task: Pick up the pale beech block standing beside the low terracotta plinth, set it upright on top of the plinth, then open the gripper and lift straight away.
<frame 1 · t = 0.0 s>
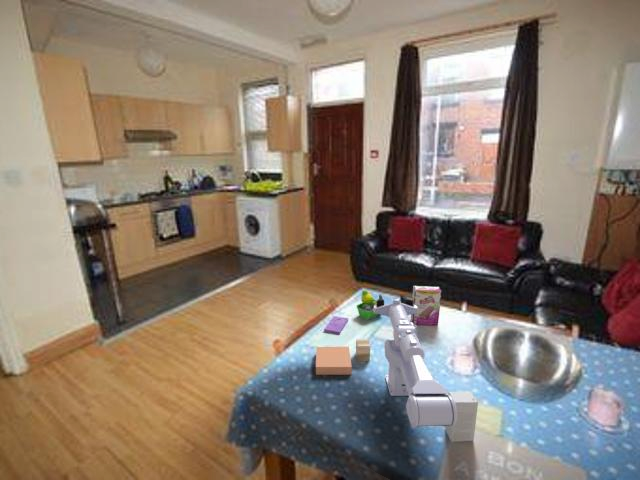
hand: (390, 297, 120), 22 cm above the table, tool horizontal, fingers open, 7 cm apart
candy bar box: (424, 323, 146), on the table
sponges: (336, 327, 144), on the table
terracotta plinth: (333, 363, 118), on the table
fruit basket: (369, 315, 154), on the table
skincare box: (458, 435, 88), on the table
beech block: (362, 357, 122), on the table
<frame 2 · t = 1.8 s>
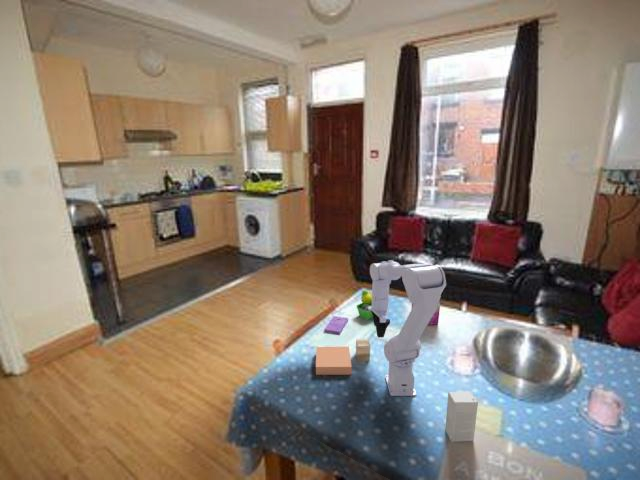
hand: (378, 331, 119), 10 cm above the table, tool pointing down, fingers open, 7 cm apart
nothing on the table moved.
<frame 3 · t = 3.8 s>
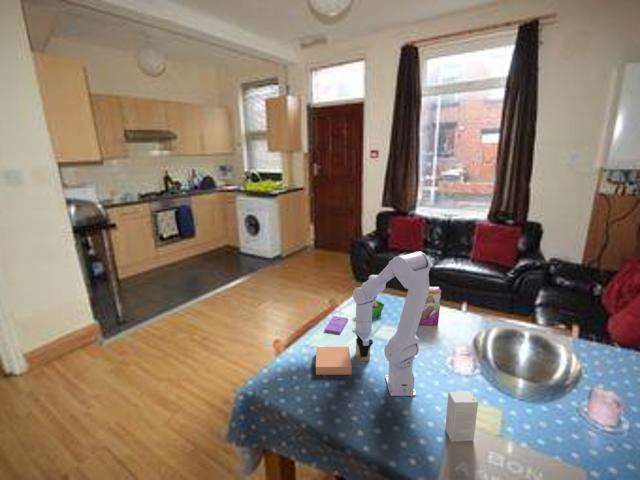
hand: (362, 352, 121), 2 cm above the table, tool pointing down, fingers closed on beech block, 4 cm apart
beech block: (362, 356, 122), on the table, touching gripper
everything else where it was.
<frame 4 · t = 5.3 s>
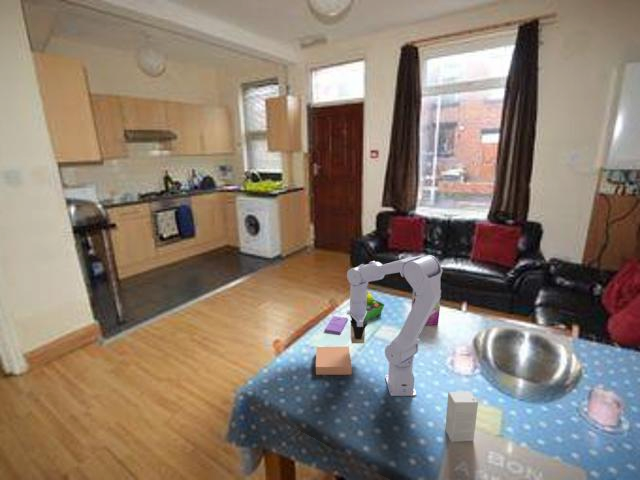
hand: (357, 334, 118), 9 cm above the table, tool pointing down, fingers closed on beech block, 4 cm apart
beech block: (357, 339, 119), point 7 cm above the table, touching gripper
everything else where it was.
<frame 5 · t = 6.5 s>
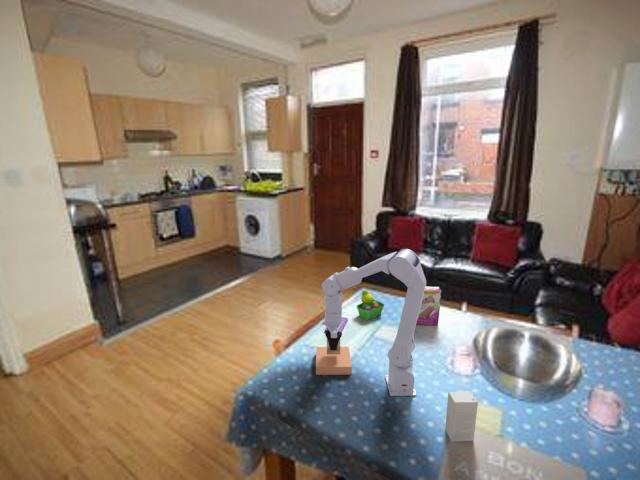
hand: (333, 345, 116), 7 cm above the table, tool pointing down, fingers closed on beech block, 4 cm apart
beech block: (333, 350, 116), point 5 cm above the table, touching gripper
everything else where it was.
when the fingers open (6 cm above the table, at t = 7.2 s): beech block stays where it is, resting on terracotta plinth.
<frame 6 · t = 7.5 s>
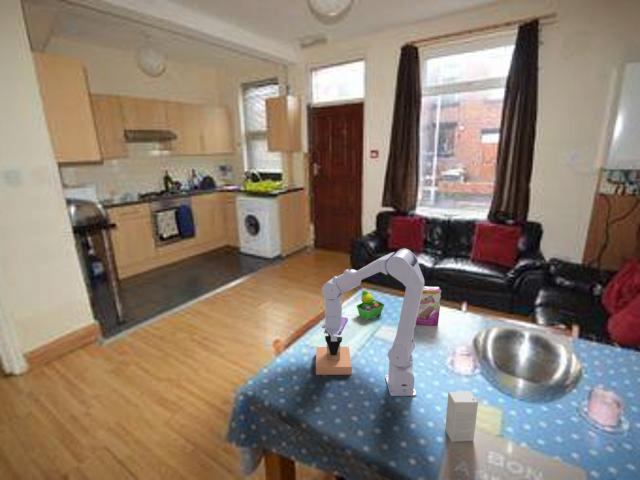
hand: (333, 348, 116), 6 cm above the table, tool pointing down, fingers open, 7 cm apart
beech block: (333, 356, 117), point 3 cm above the table, touching terracotta plinth
everything else where it was.
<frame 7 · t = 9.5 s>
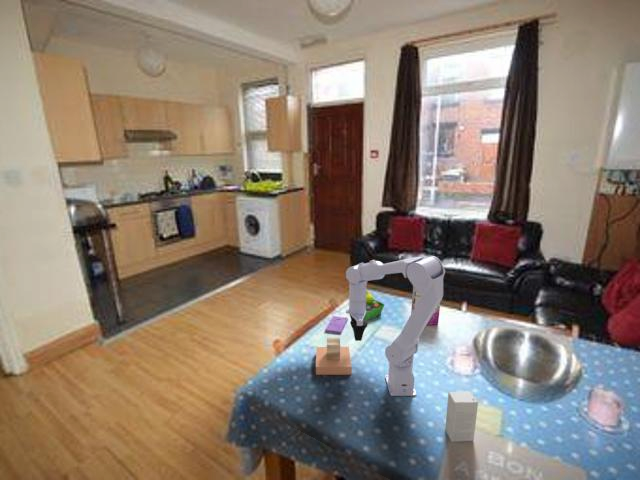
hand: (356, 334, 117), 10 cm above the table, tool pointing down, fingers open, 7 cm apart
nothing on the table moved.
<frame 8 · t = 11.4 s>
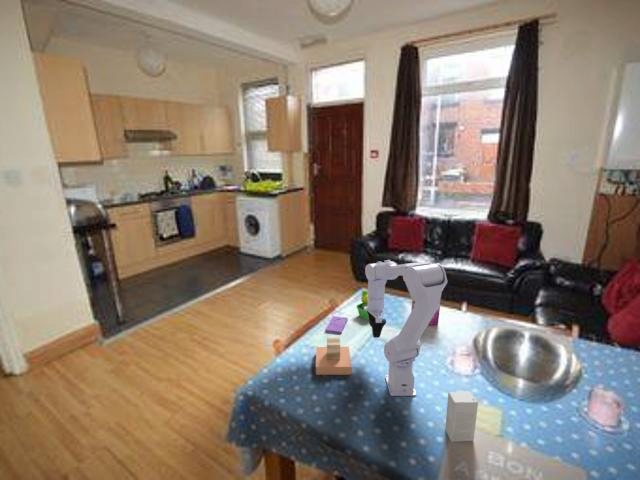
hand: (374, 331, 119), 10 cm above the table, tool pointing down, fingers open, 7 cm apart
nothing on the table moved.
at the end: beech block 0.1 cm off-centre on the terracotta plinth, point 3.0 cm above the terracotta plinth's base; beech block tilted 0°; the gripper is holding nothing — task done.
